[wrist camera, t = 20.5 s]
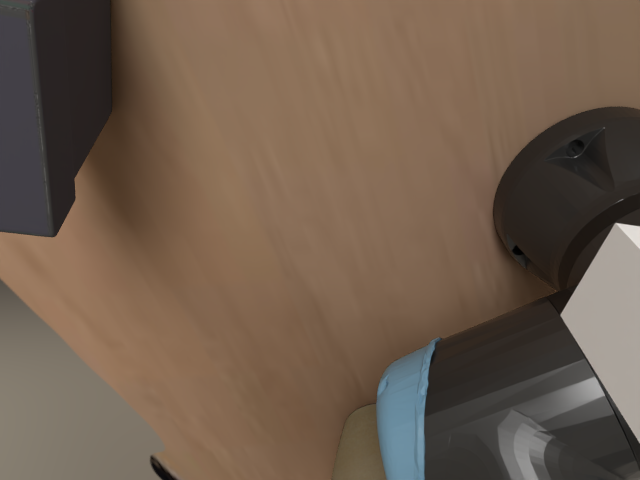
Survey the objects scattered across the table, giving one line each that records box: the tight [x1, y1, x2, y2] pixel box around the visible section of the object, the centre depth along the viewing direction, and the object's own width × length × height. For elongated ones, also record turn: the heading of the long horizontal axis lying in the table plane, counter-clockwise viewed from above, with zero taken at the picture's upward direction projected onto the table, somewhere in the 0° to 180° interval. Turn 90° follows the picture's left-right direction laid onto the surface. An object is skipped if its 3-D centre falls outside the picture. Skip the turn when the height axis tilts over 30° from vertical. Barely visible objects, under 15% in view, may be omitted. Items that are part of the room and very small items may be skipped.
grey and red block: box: [0, 0, 112, 237], centre depth 28 cm, size 11×4×15 cm, turn 168°
